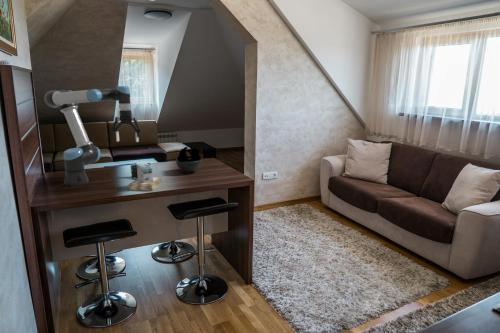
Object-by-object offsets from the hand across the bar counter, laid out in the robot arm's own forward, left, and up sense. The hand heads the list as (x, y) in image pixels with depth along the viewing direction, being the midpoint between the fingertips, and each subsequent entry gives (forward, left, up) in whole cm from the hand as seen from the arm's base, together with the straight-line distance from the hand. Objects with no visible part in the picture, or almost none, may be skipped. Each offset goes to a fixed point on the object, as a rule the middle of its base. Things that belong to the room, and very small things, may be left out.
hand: (127, 141), depth 230 cm
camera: (+3, +13, -29) cm, 32 cm away
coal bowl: (+33, +33, -29) cm, 55 cm away
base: (+14, -8, -29) cm, 33 cm away
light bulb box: (+14, -8, -25) cm, 30 cm away
